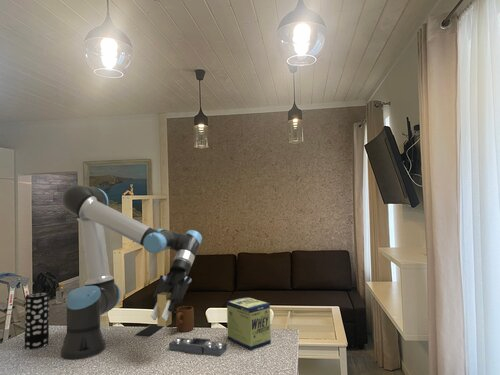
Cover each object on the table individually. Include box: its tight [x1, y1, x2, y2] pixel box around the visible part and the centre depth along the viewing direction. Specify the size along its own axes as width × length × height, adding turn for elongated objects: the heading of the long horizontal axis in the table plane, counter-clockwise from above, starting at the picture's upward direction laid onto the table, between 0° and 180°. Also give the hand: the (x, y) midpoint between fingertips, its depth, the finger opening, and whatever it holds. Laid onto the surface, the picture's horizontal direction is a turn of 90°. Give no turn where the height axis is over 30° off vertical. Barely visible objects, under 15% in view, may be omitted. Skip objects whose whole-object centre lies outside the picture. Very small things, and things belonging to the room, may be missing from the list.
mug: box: [175, 305, 195, 333], centre depth 153 cm, size 12×8×9 cm, turn 166°
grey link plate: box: [168, 337, 228, 357], centre depth 131 cm, size 21×7×3 cm, turn 71°
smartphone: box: [133, 323, 168, 339], centre depth 153 cm, size 8×1×15 cm
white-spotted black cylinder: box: [23, 292, 50, 350], centre depth 141 cm, size 8×8×20 cm
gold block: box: [156, 291, 173, 328], centre depth 126 cm, size 4×4×11 cm
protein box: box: [226, 296, 272, 351], centre depth 139 cm, size 10×16×16 cm
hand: (158, 318), depth 122 cm, fingers closed on gold block, 4 cm apart
